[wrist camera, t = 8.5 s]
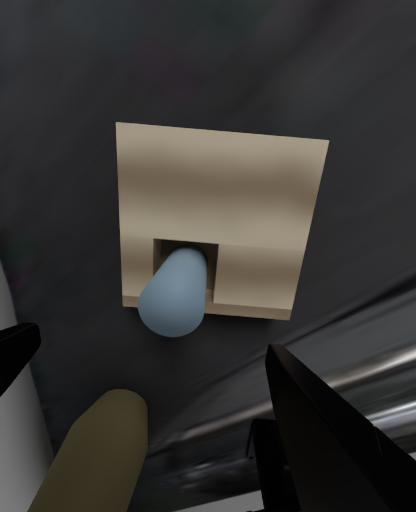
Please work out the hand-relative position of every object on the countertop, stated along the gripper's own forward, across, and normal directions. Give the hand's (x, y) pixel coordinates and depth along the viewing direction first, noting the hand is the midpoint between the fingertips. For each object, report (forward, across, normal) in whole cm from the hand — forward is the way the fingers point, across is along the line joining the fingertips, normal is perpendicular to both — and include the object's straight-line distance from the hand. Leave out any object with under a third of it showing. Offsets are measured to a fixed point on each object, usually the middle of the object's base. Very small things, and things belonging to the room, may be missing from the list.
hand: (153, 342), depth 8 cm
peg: (+11, 0, 0) cm, 11 cm away
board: (+11, -2, -3) cm, 12 cm away
